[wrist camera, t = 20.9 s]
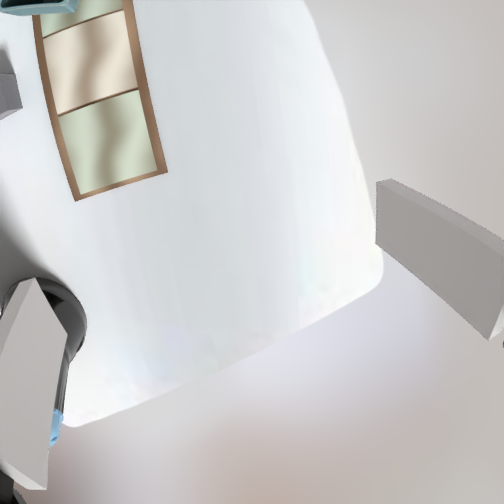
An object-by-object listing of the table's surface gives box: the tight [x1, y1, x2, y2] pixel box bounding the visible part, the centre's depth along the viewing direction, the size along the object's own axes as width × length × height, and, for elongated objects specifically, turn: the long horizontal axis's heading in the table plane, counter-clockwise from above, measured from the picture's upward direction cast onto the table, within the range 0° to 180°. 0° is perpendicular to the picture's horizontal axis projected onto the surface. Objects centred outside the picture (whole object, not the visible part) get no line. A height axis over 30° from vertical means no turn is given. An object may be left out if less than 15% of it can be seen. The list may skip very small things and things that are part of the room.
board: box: [32, 0, 168, 202], centre depth 30 cm, size 13×34×1 cm, turn 9°
